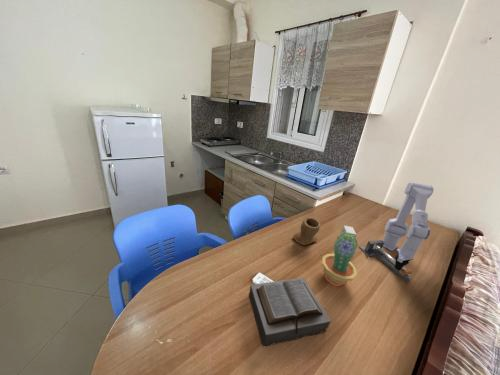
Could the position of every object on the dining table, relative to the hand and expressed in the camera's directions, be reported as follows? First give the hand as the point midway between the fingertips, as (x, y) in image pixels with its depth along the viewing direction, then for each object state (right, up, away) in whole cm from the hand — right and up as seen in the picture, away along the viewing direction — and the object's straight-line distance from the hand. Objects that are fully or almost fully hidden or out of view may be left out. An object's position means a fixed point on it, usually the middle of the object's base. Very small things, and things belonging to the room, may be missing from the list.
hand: (398, 267), depth 103 cm
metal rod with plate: (-1, +2, +5) cm, 5 cm away
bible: (-63, -7, -27) cm, 69 cm away
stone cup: (-43, +9, +17) cm, 47 cm away
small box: (-19, +7, +18) cm, 28 cm away
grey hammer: (-2, 0, +7) cm, 7 cm away
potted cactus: (-37, -2, -8) cm, 37 cm away
